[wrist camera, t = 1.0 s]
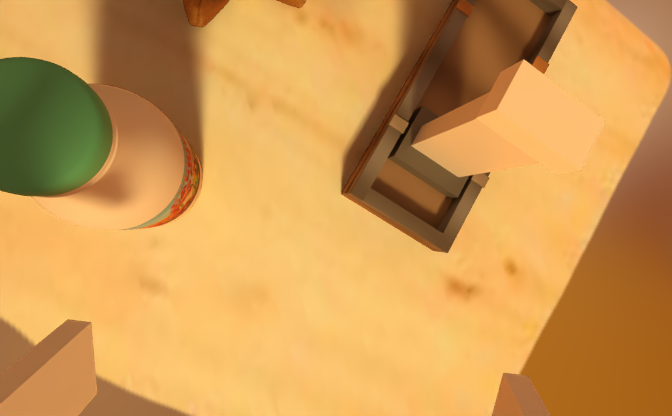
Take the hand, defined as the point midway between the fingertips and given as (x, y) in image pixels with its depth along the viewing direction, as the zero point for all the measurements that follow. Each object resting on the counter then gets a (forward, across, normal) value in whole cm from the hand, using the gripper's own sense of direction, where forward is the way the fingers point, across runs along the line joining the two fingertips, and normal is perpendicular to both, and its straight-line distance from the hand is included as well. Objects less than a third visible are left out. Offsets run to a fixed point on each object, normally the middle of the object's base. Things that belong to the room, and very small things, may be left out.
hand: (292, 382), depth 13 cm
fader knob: (+26, +8, +4) cm, 27 cm away
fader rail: (+29, +10, +8) cm, 32 cm away
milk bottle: (+20, -14, 0) cm, 25 cm away
